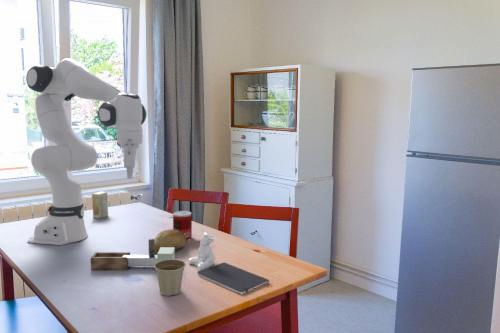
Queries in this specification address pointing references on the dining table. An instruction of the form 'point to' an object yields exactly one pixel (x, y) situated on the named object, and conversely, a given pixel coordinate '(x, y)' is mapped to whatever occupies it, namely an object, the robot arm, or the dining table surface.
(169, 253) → the pale green block
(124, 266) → the open wooden box
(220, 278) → the notebook
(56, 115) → the robot arm
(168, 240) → the bread roll
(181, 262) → the flower pot
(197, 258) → the sitting furry creature
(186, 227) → the canned food
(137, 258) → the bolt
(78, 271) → the dining table surface
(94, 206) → the skincare box
